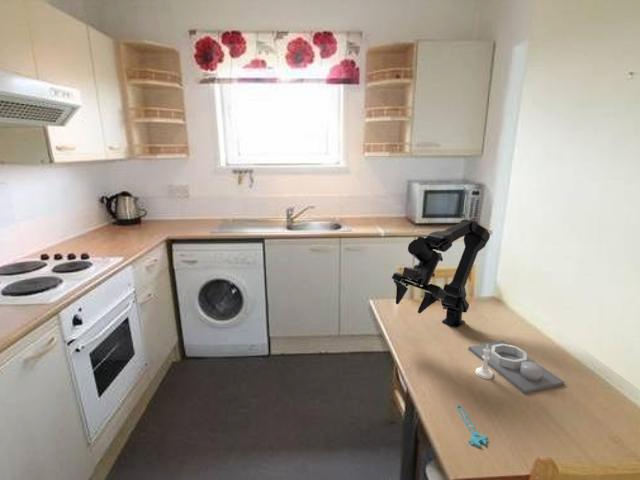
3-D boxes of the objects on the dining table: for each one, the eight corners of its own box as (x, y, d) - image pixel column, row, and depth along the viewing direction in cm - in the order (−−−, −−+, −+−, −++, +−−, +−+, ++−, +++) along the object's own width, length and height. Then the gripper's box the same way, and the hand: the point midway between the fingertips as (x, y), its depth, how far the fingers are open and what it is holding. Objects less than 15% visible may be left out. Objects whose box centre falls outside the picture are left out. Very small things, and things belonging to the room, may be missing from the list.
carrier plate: (468, 349, 125) (469, 338, 124) (502, 343, 128) (503, 332, 127) (524, 393, 102) (526, 381, 101) (563, 384, 106) (566, 372, 105)
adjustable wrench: (493, 445, 84) (472, 445, 84) (493, 448, 84) (471, 449, 84) (467, 403, 98) (449, 404, 98) (467, 406, 98) (448, 407, 98)
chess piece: (474, 376, 110) (477, 346, 108) (476, 367, 114) (479, 338, 112) (492, 380, 108) (496, 350, 106) (493, 371, 112) (497, 342, 110)
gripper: (393, 251, 127) (373, 291, 125) (439, 263, 113) (418, 309, 110) (409, 264, 134) (390, 302, 132) (454, 277, 120) (435, 321, 117)
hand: (407, 308), depth 123 cm, fingers open, 9 cm apart
